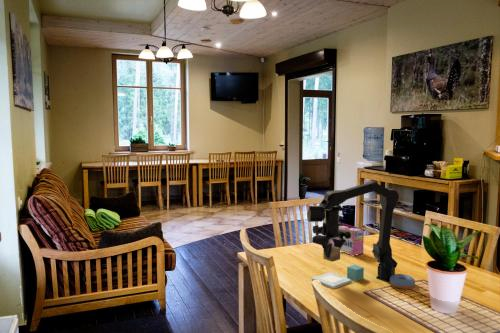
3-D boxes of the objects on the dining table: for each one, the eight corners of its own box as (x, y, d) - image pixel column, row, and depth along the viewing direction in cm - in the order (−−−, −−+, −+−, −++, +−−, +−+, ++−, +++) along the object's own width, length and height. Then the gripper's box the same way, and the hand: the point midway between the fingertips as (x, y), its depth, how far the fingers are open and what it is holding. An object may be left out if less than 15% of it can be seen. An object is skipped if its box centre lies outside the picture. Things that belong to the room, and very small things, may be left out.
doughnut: (392, 289, 163) (393, 278, 162) (387, 281, 173) (388, 270, 172) (417, 292, 161) (418, 281, 161) (410, 284, 171) (412, 274, 171)
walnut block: (340, 259, 171) (340, 247, 171) (332, 261, 168) (332, 250, 168) (331, 256, 175) (331, 245, 175) (323, 258, 172) (323, 247, 172)
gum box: (322, 245, 227) (322, 222, 226) (332, 243, 231) (332, 220, 230) (353, 256, 207) (353, 230, 205) (364, 254, 211) (364, 228, 209)
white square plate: (351, 281, 171) (351, 279, 171) (333, 288, 164) (333, 286, 164) (330, 274, 181) (330, 271, 181) (311, 280, 174) (311, 278, 173)
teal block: (363, 278, 176) (363, 267, 175) (356, 281, 172) (356, 269, 172) (354, 275, 179) (354, 264, 179) (347, 277, 176) (347, 266, 176)
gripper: (332, 215, 182) (331, 248, 184) (303, 221, 171) (303, 256, 172) (351, 219, 174) (351, 254, 175) (322, 225, 162) (322, 263, 164)
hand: (331, 256), depth 172 cm, fingers closed on walnut block, 5 cm apart
